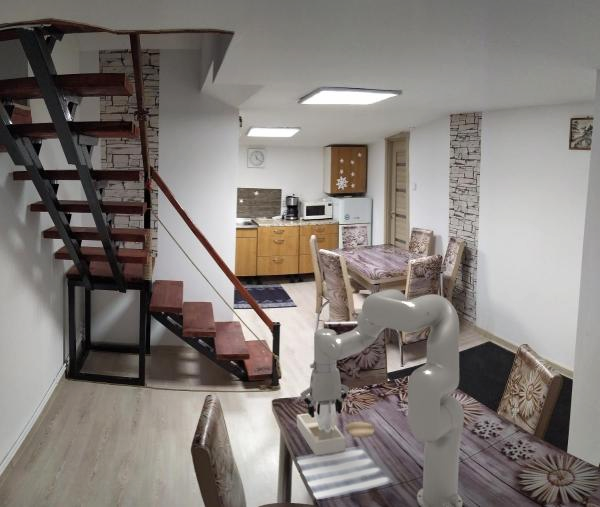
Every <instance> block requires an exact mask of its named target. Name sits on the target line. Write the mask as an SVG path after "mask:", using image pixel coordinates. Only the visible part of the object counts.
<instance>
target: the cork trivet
mask: <svg viewBox="0 0 600 507" xmlns="http://www.w3.org/2000/svg"><path fill="white" fill-rule="evenodd" d="M346 432H347V433H348V434H349V435H350V436H353V437H358V438H365V437H366V438H367V437H370V436H372V435H373V434H374V433H375V427H374V425H373V424H371V423H370V422H365V421H353V422H350V423H348V424H347V425H346Z"/></svg>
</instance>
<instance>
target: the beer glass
mask: <svg viewBox="0 0 600 507" xmlns="http://www.w3.org/2000/svg"><path fill="white" fill-rule="evenodd" d="M315 412H316V420H317V426H318V438H317V440H318V441H319V440H325V439H331V438H334V427H335V426H336V420H337V411H336V399H334V400H327V401H320V402H316V405H315Z"/></svg>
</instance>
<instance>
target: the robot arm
mask: <svg viewBox="0 0 600 507" xmlns="http://www.w3.org/2000/svg"><path fill="white" fill-rule="evenodd" d="M361 307H362V308H361V311H360V312H359V313H358V315H357V318H356V321H357V326H356V327H355V328H353V329H352V330H350V331H346V332H343V333H341V334H338V333H337V332H336V331H335V330H334V329H330V328H321V329H317V330H316V331H314V334H313V335H314V336H313V340H314V341H313V363H311V364H309V368H310V369H312V370H311V375H310V382H309V383H310V384H309V387H308V388H306V389H304V390H303V391H302V392H300V396H301V398H302V400H303V402H304V403H306V404H307V413H308V414H310V416H311V417H312V418H314V412H315V405H314V404H315V403H317V402H320V401H327V400H334V399H335V400H336V413H337V414H339V415H340V414H342V410H343V402H344V400H345V398H346V397H347V396H348V394H349V391H350V388H349V387H348V386H347V385H344V384H342V382H341V373H340V370H339V368H338V367H337V361H340V360H344V359H346V358H348V357H351V356H354V355H356V354H359V353H361V352H363V351H364V350H366V348H368V347H369V346H371V345H372V344H373V343H374V342H376V340H377V339H378V337H379V335H380V333H381V332H382V331H384V330H386V328H387V329H390V330H395V331H398V332H404V333H414V332H419V331H420V330H424V329H426V328H429V327H430V331H429V334H428V337H427V341H426V361H425V364H424V365H422V366H419V367H417V368H416V369H415V370H413V371H412V373H411V374H410V376H409V377H408V380H407V381H408V382H407V420H408V427H409V429H410V432H411V433H412V435H413V437H414V438H415V439H416V440H418V442H420V443H423V444H424V448H423V449H424V450H423V471H422V472H423V474H422V477H423V478H422V488H420V489H419V491H418V492H417V493H416V502H417V503H418V505H419V506H420V507H463V503H464V502H463V499H462V497H461V496H460V495H459V494H458V485H459V484H458V483H459V469H460V468H459V464H460V449H461V446H460V445H461V438H462V437H461V436H462V432H463V427H464V422H465V411H464V407H463V405H462V403H461V402H460V401H459V399H457V398H456V397H454V396H452V395H450V394H451V393H453V392H454V391H455V390H456V389H458V387H459V384H460V349H459V348H460V344H459V342H460V320H459V315H458V312H457V310H456V307H455V306H454V305H453V304H452V303H451V301H450V300H448V299H447V298H446V297H444V296H442V295H439V294H433V293H432V294H431V293H430V294H424V295H420V296H418V297H415V298H411V299H409V300H407V296H406V295H405V294H404V293H403V292H402V291H401V290H398V289H395V288H394V289H385V290H381V291H379V292H374V293H372V294H369V295H368V296H367V297H366V298H364V300H363V303H362V306H361ZM308 395H309V397H308V398H307V396H308Z"/></svg>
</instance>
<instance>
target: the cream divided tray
mask: <svg viewBox="0 0 600 507" xmlns="http://www.w3.org/2000/svg"><path fill="white" fill-rule="evenodd" d="M296 428H297V429H298V431H299V432H300V434H301V435H302V437H303V439H304V440H305V441H306V443H307V444H308V447H309V448H310V449H311V451H312V453H313V454H314V455H315V456H323V455H328V454H334V453H339V452H346V436H345V435H344V434H343V433H342V432H341V431H340V429H339V428H338V427H337V425H335V427H334V438H331V439H325V440H319V441H318V440H317V438H318V426H317V420H316V411H314V418H312V417H311V416H310V414H308V412H307V413H301V414H296Z"/></svg>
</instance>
